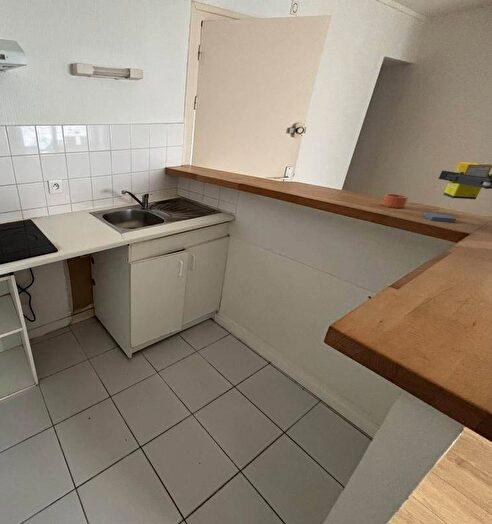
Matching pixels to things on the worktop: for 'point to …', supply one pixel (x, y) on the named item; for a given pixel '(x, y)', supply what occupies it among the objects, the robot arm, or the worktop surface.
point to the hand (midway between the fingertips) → (453, 174)
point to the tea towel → (439, 217)
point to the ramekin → (394, 200)
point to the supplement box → (466, 190)
